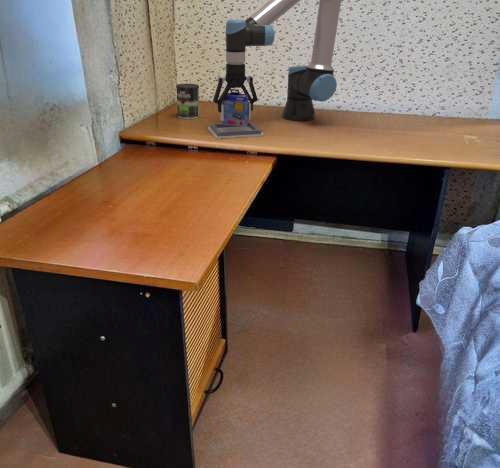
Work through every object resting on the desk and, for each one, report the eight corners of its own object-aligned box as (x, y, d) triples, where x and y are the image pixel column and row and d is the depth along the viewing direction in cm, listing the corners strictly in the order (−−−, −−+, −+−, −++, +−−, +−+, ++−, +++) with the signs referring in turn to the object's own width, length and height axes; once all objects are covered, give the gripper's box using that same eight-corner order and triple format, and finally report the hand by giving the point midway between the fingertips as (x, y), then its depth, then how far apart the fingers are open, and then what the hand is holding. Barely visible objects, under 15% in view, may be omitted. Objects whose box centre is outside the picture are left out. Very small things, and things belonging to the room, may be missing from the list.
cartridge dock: (252, 126, 208) (252, 121, 207) (264, 136, 195) (264, 130, 194) (207, 129, 203) (207, 123, 202) (215, 139, 189) (215, 133, 188)
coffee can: (193, 120, 217) (192, 88, 210) (173, 117, 220) (171, 86, 214) (203, 115, 225) (202, 84, 219) (184, 113, 229) (183, 82, 222)
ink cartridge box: (221, 125, 196) (221, 88, 189) (225, 122, 201) (225, 86, 194) (245, 127, 194) (245, 90, 187) (248, 123, 199) (249, 88, 192)
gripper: (261, 61, 193) (259, 116, 203) (204, 62, 187) (205, 118, 197) (266, 63, 186) (265, 120, 196) (208, 65, 180) (209, 123, 190)
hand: (235, 119), depth 196 cm, fingers closed on ink cartridge box, 11 cm apart
